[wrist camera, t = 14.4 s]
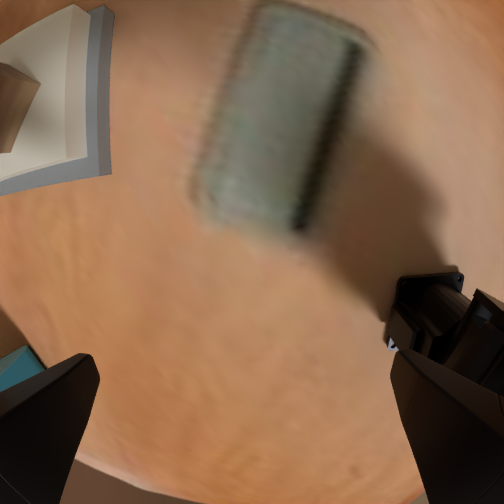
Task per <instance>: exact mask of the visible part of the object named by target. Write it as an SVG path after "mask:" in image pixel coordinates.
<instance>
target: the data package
mask: <svg viewBox="0 0 504 504" xmlns="http://www.w3.org/2000/svg"><path fill="white" fill-rule="evenodd" d="M44 370H45V369H44V368H43V367H42V365H41V364H40V363H39V361H38V360H37V359H36V357H35V356H34V355H33V353H32V352H31V350H30V349H29V348H28V346H27V345H24V346H22V347H20V348H19V349H17V350H15V351H14V352H12V353H10V354H8V355H7V356H5V357H3V358H2V359H0V392H1V391H3V390H5V389H7V388H9V387H11V386H13V385H16V384H18V383H20V382H22V381H24V380H26V379H28V378H30V377H32V376H34V375H36V374H38V373H40V372H42V371H44Z"/></svg>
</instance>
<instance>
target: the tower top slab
mask: <svg viewBox="0 0 504 504" xmlns="http://www.w3.org/2000/svg"><path fill="white" fill-rule="evenodd" d="M90 19H91V15H90V14H88V13H87V12H85V11H84V10H82V9H81V8H80V7H78V6H77V5H75V4H72V5H70V6H68V7H65V8H63V9H61V10H59V11H57V12H55V13H53V14H51V15H49V16H47V17H45V18H43V19H42V20H40V21H38V22H36V23H34V24H32V25H31V26H29V27H27V28H26V29H24V30H22V31H21V32H19V33H17V34H16V35H14V36H12V37H11V38H9V39H8V40H6V41H5V42H3V43H2V44H0V62H1V63H6V64H9V65H10V66H12V67H14V68H15V69H17V70H18V71H20V72H22V73H23V74H25V75H27V76H28V77H30V78H32V79H33V80H35V81H36V82H38V83H40V84H41V85H40V87H39V89H38V91H37V93H36V95H35V97H34V99H33V101H32V103H31V105H30V107H29V110H28V112H27V114H26V116H25V118H24V121H23V123H22V125H21V128H20V130H19V133H18V135H17V138H16V140H15V143H14V145H13V148H12V151H11V153H2V154H0V181H2V180H5V179H8V178H11V177H15V176H18V175H21V174H24V173H28V172H31V171H34V170H38V169H41V168H45V167H49V166H52V165H56V164H60V163H64V162H68V161H72V160H76V159H81V158H85V157H87V140H86V105H85V99H86V64H87V49H88V38H89V28H90Z"/></svg>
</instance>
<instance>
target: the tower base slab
mask: <svg viewBox="0 0 504 504" xmlns="http://www.w3.org/2000/svg"><path fill="white" fill-rule="evenodd" d="M87 13H88V14H90V15H91V19H90V28H89V38H88V49H87V64H86V99H85V105H86V140H87V157H85V158H81V159H76V160H72V161H68V162H64V163H60V164H56V165H52V166H49V167H45V168H41V169H38V170H34V171H31V172H28V173H24V174H21V175H18V176H15V177H11V178H8V179H5V180H2V181H0V196H3V195H7V194H11V193H15V192H19V191H24V190H28V189H33V188H37V187H42V186H47V185H52V184H57V183H62V182H67V181H73V180H79V179H85V178H91V177H97V176H103V175H110V174H112V169H111V153H110V125H109V90H110V63H111V48H112V36H113V26H114V17H115V14H114V13H113V12H112V11H111V10H110V9H109V8H108V7H106V6H105V5H104V6H101V7H98V8H95V9H92V10H90V11H87Z"/></svg>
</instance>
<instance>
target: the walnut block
mask: <svg viewBox="0 0 504 504" xmlns="http://www.w3.org/2000/svg"><path fill="white" fill-rule="evenodd" d="M40 85H41V84H40V83H38V82H36V81H35V80H33V79H32V78H30V77H28V76H27V75H25V74H23V73H22V72H20V71H18V70H17V69H15V68H14V67H12V66H10V65H9V64H6V63H1V62H0V154H2V153H11V151H12V148H13V145H14V143H15V140H16V138H17V135H18V133H19V130H20V128H21V125H22V123H23V121H24V118H25V116H26V114H27V112H28V110H29V107H30V105H31V103H32V101H33V99H34V97H35V95H36V93H37V91H38V89H39V87H40Z"/></svg>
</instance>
